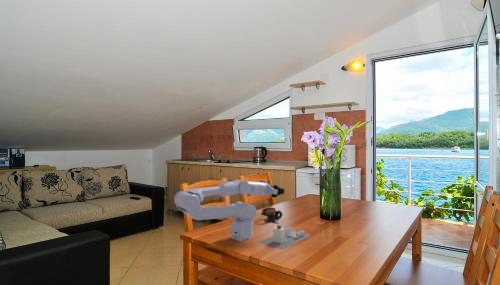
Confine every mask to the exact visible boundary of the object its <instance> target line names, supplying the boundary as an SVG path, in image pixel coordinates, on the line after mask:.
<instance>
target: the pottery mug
mask: <svg viewBox="0 0 500 285" xmlns="http://www.w3.org/2000/svg"><path fill="white" fill-rule="evenodd" d="M260 216H265V217H267V218H265V219H263V220H264V224H268V223H270V224H271V223H272V224H276V222H278V221H279V220H280V219H281V218H282V217H283V212H282V211H281V210H276V208H274V207H266V208H263V209H261V213H260Z"/></svg>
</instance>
